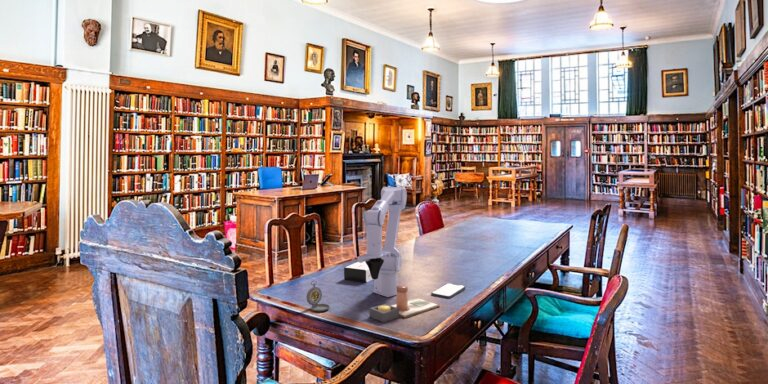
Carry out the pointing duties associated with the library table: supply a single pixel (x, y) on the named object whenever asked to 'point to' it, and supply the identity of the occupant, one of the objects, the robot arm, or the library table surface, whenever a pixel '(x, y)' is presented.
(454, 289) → the phone case
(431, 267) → the library table surface
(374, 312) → the button base
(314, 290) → the pocket watch
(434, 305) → the colouring board
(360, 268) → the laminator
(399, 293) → the brown cylinder
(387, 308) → the button
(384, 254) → the robot arm
